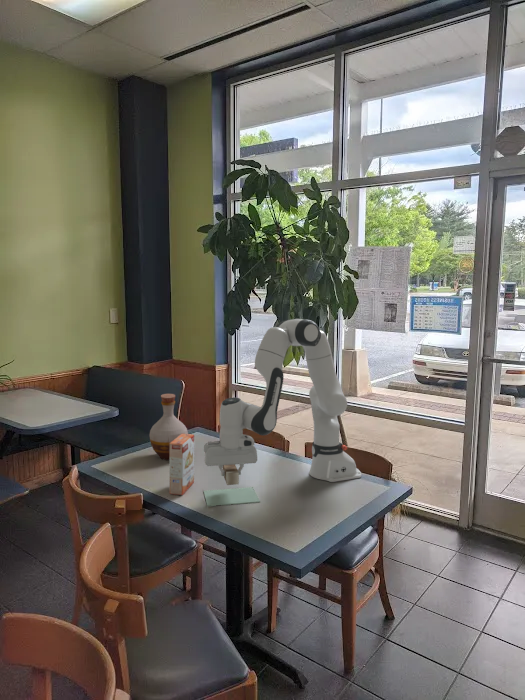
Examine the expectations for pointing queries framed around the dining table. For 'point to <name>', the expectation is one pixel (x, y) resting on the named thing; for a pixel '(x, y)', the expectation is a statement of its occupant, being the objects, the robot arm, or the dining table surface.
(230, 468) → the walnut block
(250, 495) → the rubber mat
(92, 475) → the dining table surface
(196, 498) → the dining table surface
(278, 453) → the dining table surface
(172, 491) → the cracker box
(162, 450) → the jug
